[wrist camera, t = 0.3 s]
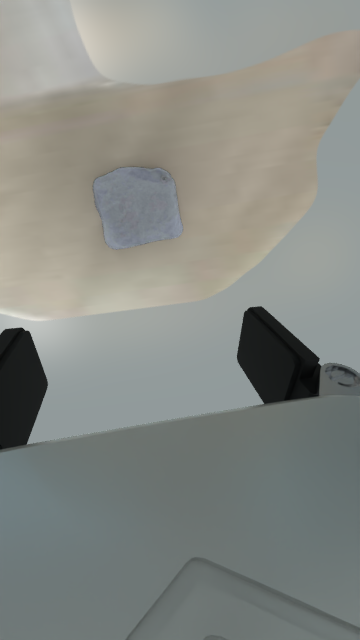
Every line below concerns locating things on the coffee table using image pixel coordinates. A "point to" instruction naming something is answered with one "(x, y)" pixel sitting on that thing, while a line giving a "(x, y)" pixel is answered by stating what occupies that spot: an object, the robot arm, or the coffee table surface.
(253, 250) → the coffee table surface
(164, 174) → the stone block
